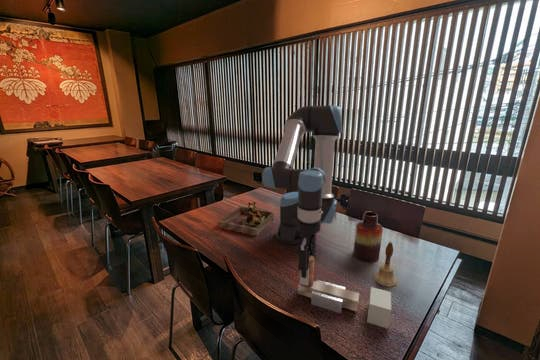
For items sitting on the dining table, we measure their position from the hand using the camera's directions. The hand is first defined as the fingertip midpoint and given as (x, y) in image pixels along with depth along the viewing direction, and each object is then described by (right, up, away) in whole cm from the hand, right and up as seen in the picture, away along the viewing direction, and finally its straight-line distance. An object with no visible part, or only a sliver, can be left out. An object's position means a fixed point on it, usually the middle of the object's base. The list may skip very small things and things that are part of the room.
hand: (306, 278), depth 88 cm
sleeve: (+7, -7, -1) cm, 10 cm away
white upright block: (+22, -9, -7) cm, 25 cm away
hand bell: (+32, -4, +9) cm, 33 cm away
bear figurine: (-22, +9, +55) cm, 60 cm away
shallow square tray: (-25, +10, +56) cm, 62 cm away
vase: (+30, +1, +25) cm, 39 cm away
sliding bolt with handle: (+7, -6, -1) cm, 9 cm away
